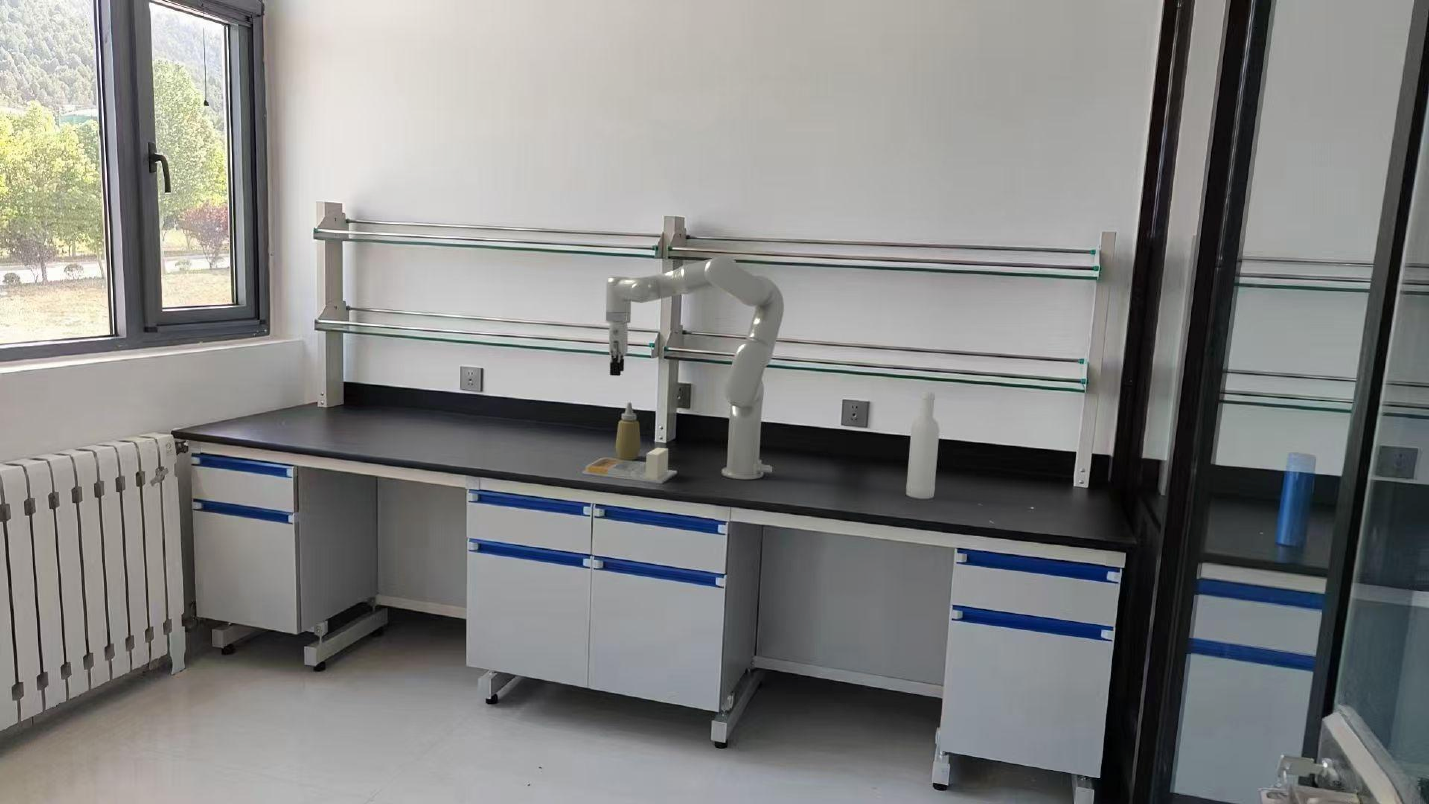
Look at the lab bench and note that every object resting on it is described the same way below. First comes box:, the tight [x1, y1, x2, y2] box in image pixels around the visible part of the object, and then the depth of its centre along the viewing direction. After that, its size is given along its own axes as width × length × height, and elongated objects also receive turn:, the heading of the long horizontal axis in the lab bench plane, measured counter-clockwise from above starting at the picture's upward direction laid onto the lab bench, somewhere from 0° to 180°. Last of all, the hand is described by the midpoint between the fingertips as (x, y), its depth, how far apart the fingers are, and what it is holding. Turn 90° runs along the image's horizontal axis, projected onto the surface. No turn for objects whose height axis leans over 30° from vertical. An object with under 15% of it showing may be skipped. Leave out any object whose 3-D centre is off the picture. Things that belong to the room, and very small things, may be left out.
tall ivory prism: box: [645, 447, 669, 478], centre depth 282 cm, size 4×9×7 cm, turn 163°
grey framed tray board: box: [582, 457, 678, 484], centre depth 285 cm, size 25×13×2 cm, turn 73°
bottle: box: [905, 391, 940, 500], centre depth 272 cm, size 8×8×30 cm
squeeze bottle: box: [615, 402, 642, 461], centre depth 303 cm, size 8×8×18 cm
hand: (616, 373), depth 294 cm, fingers open, 9 cm apart
